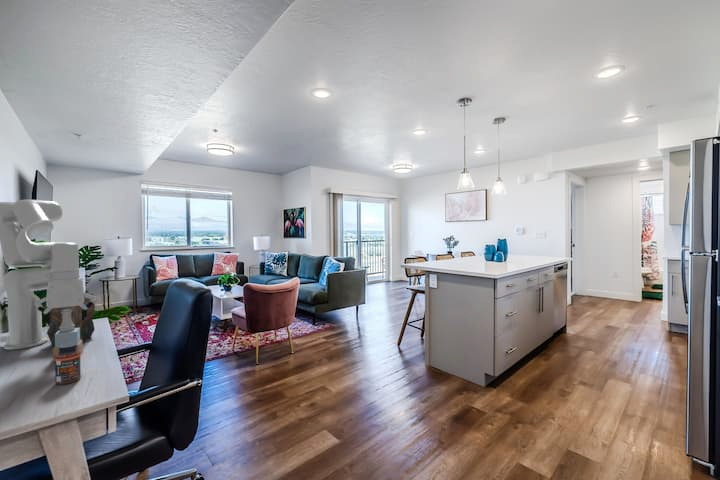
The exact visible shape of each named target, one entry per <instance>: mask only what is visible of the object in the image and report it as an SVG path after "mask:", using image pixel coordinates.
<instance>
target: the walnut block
mask: <svg viewBox="0 0 720 480" xmlns="http://www.w3.org/2000/svg"><path fill="white" fill-rule="evenodd" d="M83 343H84V342H82V340H80V342H79V343H78V344H77V345H76V347H77V348H76V349H77V350H79V351H80V353H81V355H83V353H84V345H83ZM58 353H59V348H55V346H54V347H53V349H52V355H53V357H52V358H53V360H52V361H53V363H55V356H56V354H58Z"/></svg>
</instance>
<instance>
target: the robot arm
mask: <svg viewBox="0 0 720 480" xmlns="http://www.w3.org/2000/svg"><path fill="white" fill-rule="evenodd" d="M62 216H63V209H62V206H61V205H60V204H59V203H58V202H56V201H54V200H53V201H52V200H44V199H43V200H42V199H41V200H40V199H20V200H17V201H15V202H14V201H13V202H12V201H2V202H1V201H0V249H1V252H2V256H3V261H4V263H5V264H6V266H8V267H11V268H18V269H14V270H11V271H8V272H7V273H6V274H5V275H4V276H3V278H2V279H3V285H4V289H5V293H6V299H7V315H8V317H7V319H8V335H2V336H0V343H4V342H5V344H4V345H3V349H4V350H8V351H9V350H10V351H12V350H15V351H16V350H21V349H29V348H33V347H36V346H40V345H43V344H46V343H47V342H48V341H49V340H48V338H49V337H46V336H43V322H42V321H43V317H42V313H43V315H44V322H45V323H47V324H46V325H47V326H50V324H51V323H52V313H51V310H52V309H53V308H63V307H72V306H80V307H81V308H83V310H82V320H83V321H84V320H85V319H86V318H87V317H88V308H89V307H90V306H91V305H92V304H93V303H94V304H95V301H96V300H97V296H96V295H94V294H93V295H90V294H91V293H87V292H85V287H84V282H83V279H82V277H80V259H79V257H80V256H79V244H77V243H75V242H67V241H46V242H45V241H41V242H39V241H38V242H32V240H36V239H40V238H42V237H45V236H47V235H49V234H50V233H51V232H52V231H53V229H54V224H53V222H57V221H59V220H60V219H61V218H62ZM16 223H19V224H20V226H21V227H20V226H19V225H18V224H16ZM25 267H26V268H25ZM27 267H31V268H27ZM19 268H20V269H19ZM42 290H43V291H44V290H46V296H44V297H43V298H41V299H40V297H39V296H37V295H36V294H35V293H34V292H35V291H36V292H37V291H42ZM85 297H86V298H89V299H91V300H90V302H89V303H88V304H85V303H84V301H85ZM45 302H46V307H45V306H43V303H45Z"/></svg>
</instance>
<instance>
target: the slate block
mask: <svg viewBox="0 0 720 480" xmlns="http://www.w3.org/2000/svg"><path fill="white" fill-rule="evenodd" d="M79 342H80V328H75V329H74V330H72V331H68V332H60V331H58V332H57V333H56V334H55V346H54V347H55V348H59V347H60V346H62V345H65V344H70V343H75V344H76V345H77V344H78V343H79Z"/></svg>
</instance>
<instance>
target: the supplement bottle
mask: <svg viewBox="0 0 720 480" xmlns="http://www.w3.org/2000/svg"><path fill="white" fill-rule="evenodd" d="M76 348H77V347H76V344H75V343H70V344H65V345H62V346H60V347H59V353H58V354H56V356H55V362H54V365H55V366H54V370H55V371H54V379H55V382H54V383H55V384H56V385H60V386H61V385H63V386H65V385H68V384H72V383H76V382H78V381H79V380H80V379H81V378H82V369H81V368H82V367H81V366H82V364H81V363H82V362H81V361H82V360H81V359H82V357H81V356H82V354H81V353H80V351H79V350H77V349H76Z"/></svg>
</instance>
